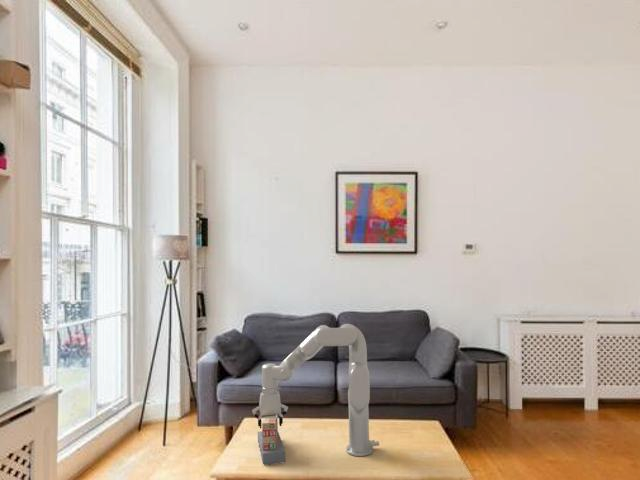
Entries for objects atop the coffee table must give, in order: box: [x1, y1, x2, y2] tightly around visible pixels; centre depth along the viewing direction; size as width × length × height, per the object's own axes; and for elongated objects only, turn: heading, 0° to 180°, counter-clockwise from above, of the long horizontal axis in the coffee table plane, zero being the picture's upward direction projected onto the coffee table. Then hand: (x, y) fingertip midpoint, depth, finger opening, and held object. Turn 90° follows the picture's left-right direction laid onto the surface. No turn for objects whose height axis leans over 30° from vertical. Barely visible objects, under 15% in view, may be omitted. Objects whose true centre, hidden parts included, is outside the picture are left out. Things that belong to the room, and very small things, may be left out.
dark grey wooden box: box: [257, 430, 286, 466], centre depth 206 cm, size 10×26×5 cm, turn 13°
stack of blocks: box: [261, 414, 279, 450], centre depth 207 cm, size 21×6×12 cm, turn 4°
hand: (270, 426), depth 206 cm, fingers open, 9 cm apart
